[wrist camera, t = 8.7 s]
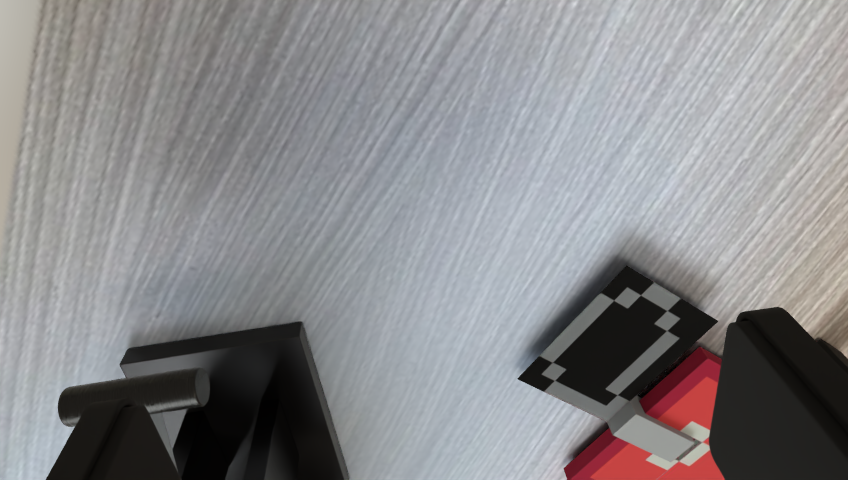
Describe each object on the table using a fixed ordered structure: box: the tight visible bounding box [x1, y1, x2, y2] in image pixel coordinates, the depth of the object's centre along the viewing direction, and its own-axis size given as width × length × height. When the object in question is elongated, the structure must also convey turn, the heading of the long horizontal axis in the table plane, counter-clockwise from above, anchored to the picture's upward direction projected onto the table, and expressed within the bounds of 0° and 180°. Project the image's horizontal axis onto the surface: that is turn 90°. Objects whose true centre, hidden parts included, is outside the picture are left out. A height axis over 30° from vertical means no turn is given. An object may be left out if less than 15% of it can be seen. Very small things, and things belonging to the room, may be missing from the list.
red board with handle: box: [518, 266, 848, 480], centre depth 36 cm, size 30×3×15 cm
